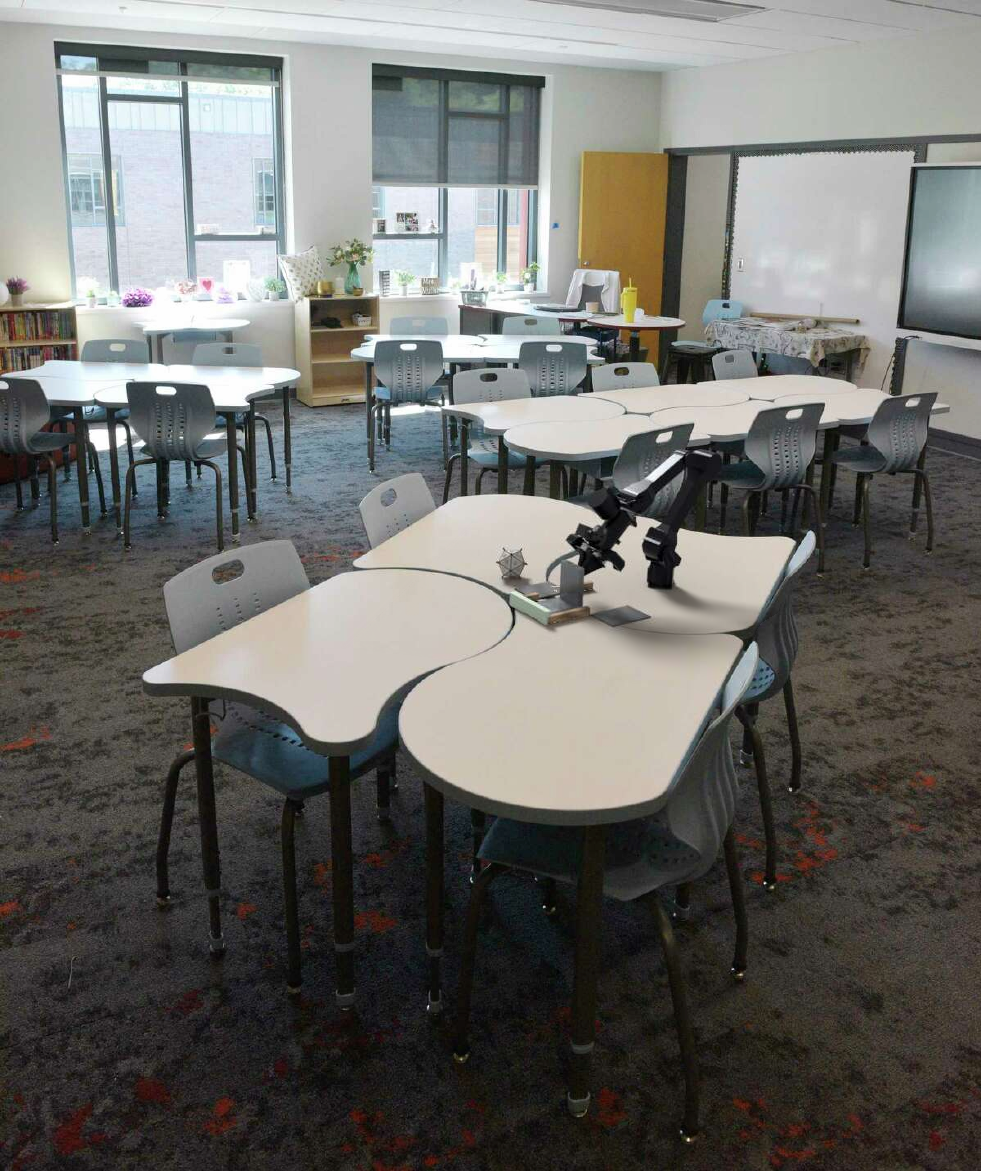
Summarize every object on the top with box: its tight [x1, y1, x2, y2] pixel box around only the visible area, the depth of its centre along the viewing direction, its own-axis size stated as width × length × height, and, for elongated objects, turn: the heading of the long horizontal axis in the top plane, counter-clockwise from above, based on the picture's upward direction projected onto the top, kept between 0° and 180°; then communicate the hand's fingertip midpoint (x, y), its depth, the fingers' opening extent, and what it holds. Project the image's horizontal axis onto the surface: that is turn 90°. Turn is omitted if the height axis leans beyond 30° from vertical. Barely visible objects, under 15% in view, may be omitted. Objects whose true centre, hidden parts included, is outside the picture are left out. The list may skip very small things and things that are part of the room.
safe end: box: [509, 590, 551, 626], centre depth 268 cm, size 2×16×4 cm, turn 32°
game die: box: [495, 547, 528, 580], centre depth 294 cm, size 9×8×10 cm
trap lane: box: [514, 580, 652, 628], centre depth 275 cm, size 25×34×2 cm
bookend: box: [536, 559, 585, 614], centre depth 271 cm, size 12×8×11 cm, turn 122°
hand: (575, 578), depth 274 cm, fingers closed, pressing on bookend
